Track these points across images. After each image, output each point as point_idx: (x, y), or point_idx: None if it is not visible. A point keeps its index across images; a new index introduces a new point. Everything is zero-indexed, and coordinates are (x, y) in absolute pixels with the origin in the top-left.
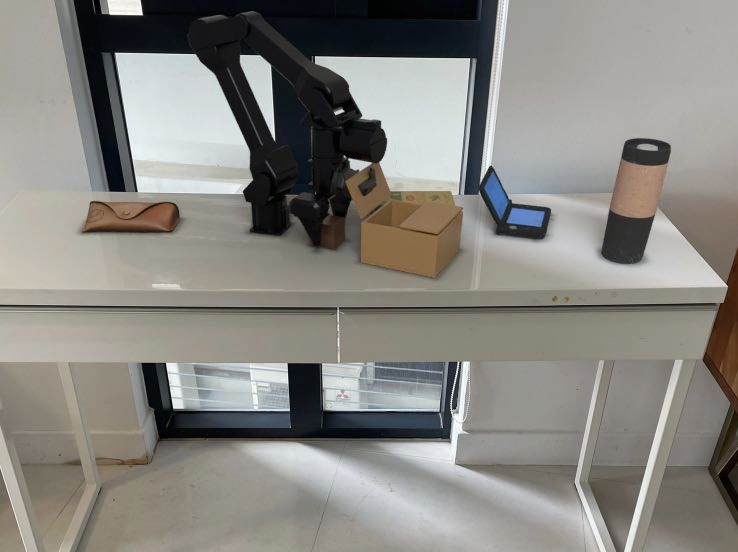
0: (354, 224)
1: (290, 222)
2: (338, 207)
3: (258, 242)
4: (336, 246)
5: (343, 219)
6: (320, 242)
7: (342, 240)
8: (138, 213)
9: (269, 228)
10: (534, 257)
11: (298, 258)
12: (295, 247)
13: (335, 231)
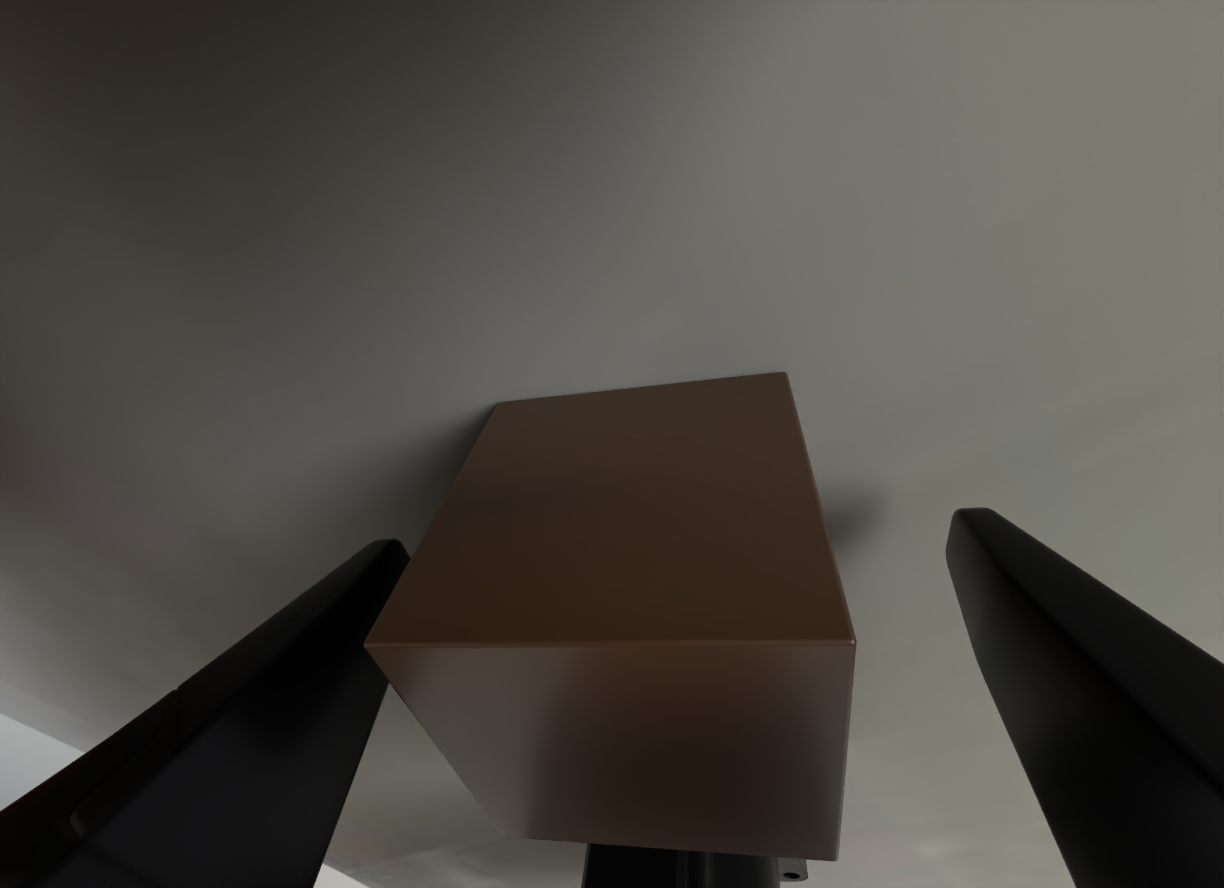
0: (174, 517)
1: None
2: (255, 824)
3: (922, 809)
4: (718, 386)
5: (431, 636)
6: (988, 538)
7: (554, 411)
8: None
9: None
10: None
11: (1189, 541)
12: (904, 649)
13: (763, 535)
